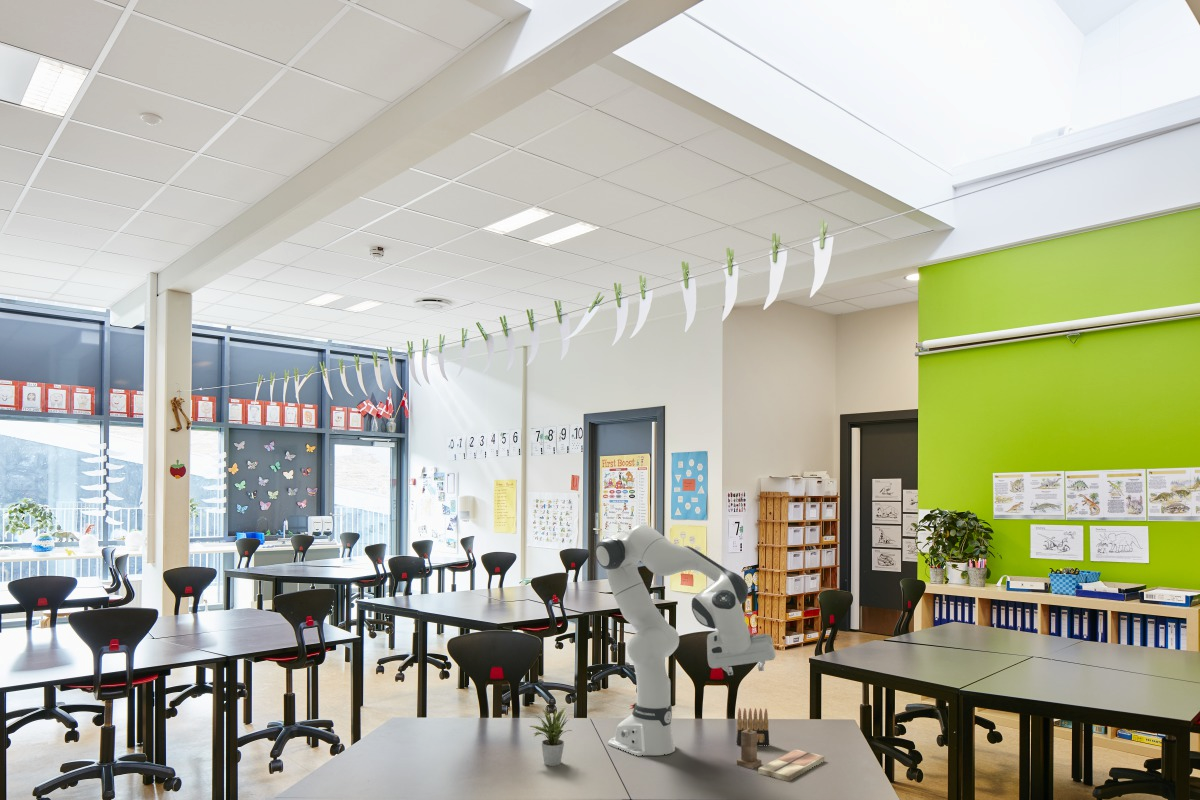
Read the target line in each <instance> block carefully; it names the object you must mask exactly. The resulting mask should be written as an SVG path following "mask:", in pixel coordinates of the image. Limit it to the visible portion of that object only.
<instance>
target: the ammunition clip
mask: <svg viewBox="0 0 1200 800" xmlns="http://www.w3.org/2000/svg"><path fill="white" fill-rule="evenodd" d="M742 714H743V715H742ZM748 728H750V730H753V731H757V745H763V746H762V747H769V746H770V733H769V732H770V731H769V715H768V709H767V708H765V709H764V712H763V710H762V708H759V711H757V708H756V707H755V708H754V711H753V712H752V708H751V707H750V708H749V709H748V715H747V708H746V707H744V708H743V712H742V710H741V708H740V707H739V708H738V710H737V720H736V743H737V744H736V746H737V745H741V732H742V731H744V730H746V729H748ZM764 745H765V746H764ZM766 745H767V746H766ZM768 745H769V746H768Z"/></svg>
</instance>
